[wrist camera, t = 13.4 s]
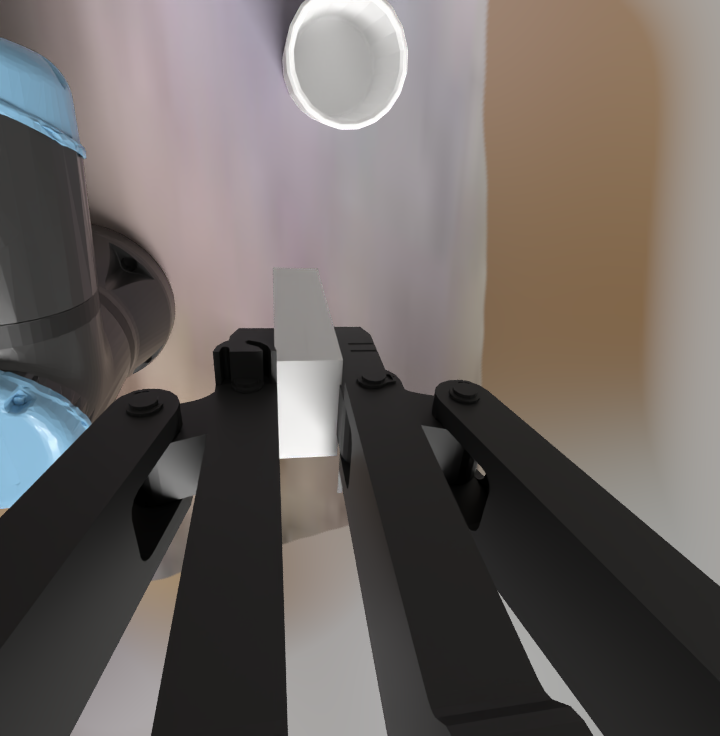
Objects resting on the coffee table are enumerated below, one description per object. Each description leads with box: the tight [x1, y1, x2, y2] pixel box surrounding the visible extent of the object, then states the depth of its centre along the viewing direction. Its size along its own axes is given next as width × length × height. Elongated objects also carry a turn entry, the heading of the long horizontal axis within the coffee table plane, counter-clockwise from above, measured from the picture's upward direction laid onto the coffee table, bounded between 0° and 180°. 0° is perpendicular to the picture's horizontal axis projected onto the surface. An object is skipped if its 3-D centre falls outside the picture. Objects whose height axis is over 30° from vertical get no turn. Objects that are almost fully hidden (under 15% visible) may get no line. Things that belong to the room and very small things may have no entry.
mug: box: [282, 0, 408, 129], centre depth 33 cm, size 8×12×10 cm, turn 0°
